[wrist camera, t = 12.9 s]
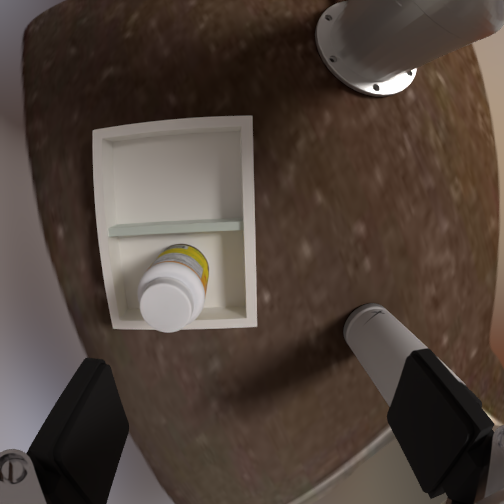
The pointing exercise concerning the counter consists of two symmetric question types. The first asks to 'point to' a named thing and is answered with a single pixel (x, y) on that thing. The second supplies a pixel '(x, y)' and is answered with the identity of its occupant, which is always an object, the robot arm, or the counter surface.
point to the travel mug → (383, 347)
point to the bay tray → (178, 211)
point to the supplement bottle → (174, 288)
